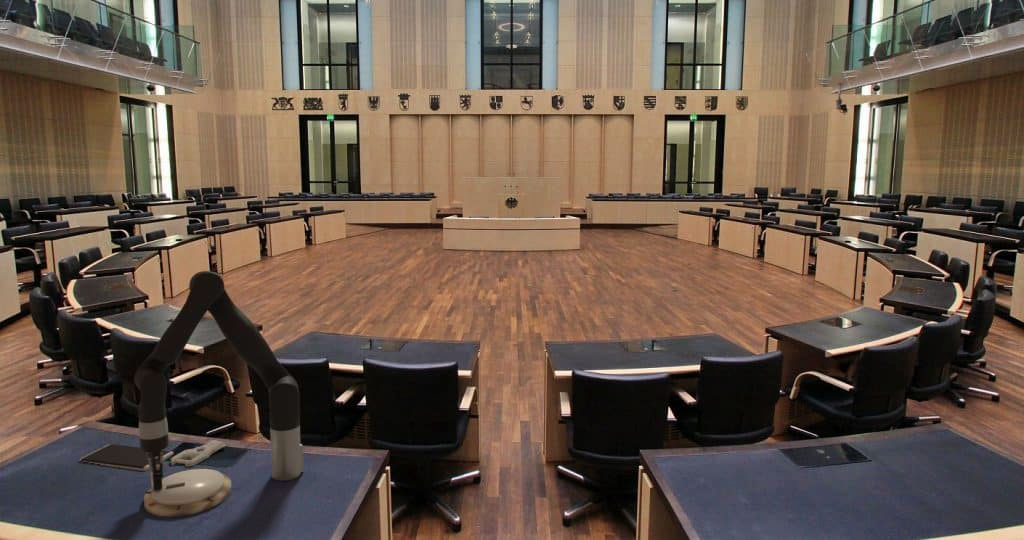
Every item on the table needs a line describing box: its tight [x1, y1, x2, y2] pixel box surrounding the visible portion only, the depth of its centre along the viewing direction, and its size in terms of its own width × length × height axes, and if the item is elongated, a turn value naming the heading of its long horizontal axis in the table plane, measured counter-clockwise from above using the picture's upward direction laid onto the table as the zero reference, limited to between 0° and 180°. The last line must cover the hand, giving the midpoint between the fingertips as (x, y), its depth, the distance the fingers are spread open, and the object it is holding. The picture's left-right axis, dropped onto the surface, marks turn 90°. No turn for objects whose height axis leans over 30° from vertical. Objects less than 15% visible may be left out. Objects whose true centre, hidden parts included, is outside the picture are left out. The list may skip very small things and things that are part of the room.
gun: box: [170, 439, 227, 468], centre depth 221 cm, size 18×4×10 cm
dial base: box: [143, 473, 232, 518], centre depth 194 cm, size 24×24×2 cm
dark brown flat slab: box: [79, 443, 174, 472], centre depth 218 cm, size 13×27×2 cm, turn 78°
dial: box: [150, 468, 224, 506], centre depth 193 cm, size 20×20×8 cm
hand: (157, 486), depth 189 cm, fingers open, 3 cm apart
